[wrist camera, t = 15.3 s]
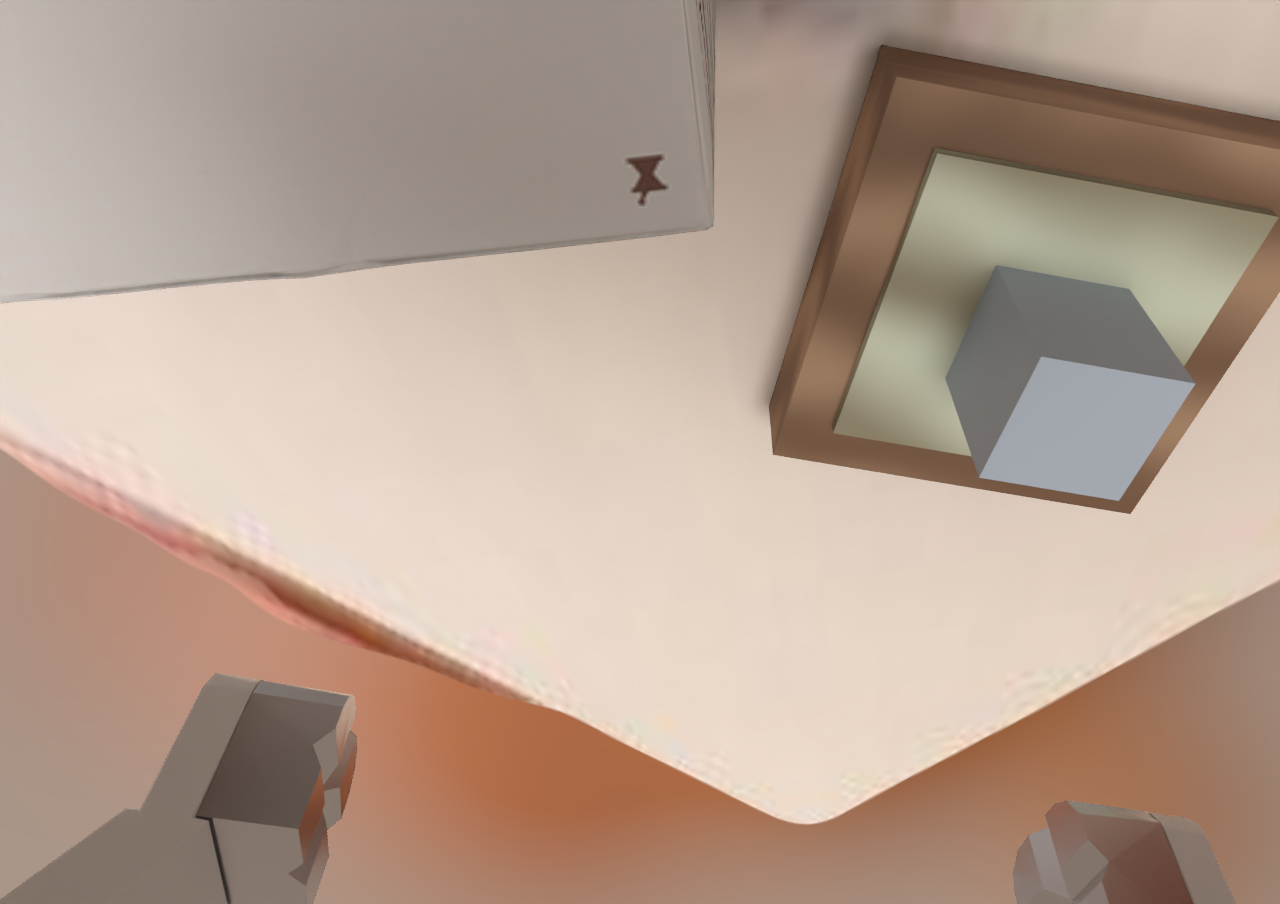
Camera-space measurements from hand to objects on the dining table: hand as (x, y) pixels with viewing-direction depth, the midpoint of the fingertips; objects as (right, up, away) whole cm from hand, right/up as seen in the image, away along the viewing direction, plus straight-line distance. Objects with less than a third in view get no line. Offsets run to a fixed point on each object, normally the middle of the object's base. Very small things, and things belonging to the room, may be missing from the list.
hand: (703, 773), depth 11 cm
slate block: (+14, +8, +25) cm, 30 cm away
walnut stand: (+14, +11, +28) cm, 33 cm away
